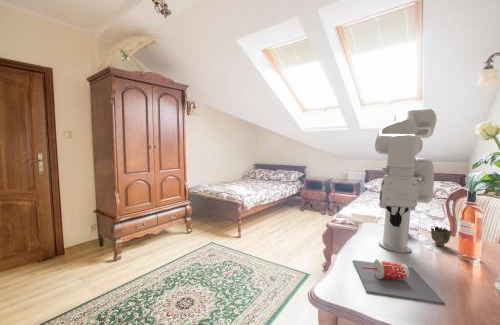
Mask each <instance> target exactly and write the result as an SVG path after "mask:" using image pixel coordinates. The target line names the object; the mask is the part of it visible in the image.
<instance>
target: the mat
mask: <svg viewBox="0 0 500 325" xmlns="http://www.w3.org/2000/svg"><path fill="white" fill-rule="evenodd" d="M352 263H353V265H354V267H355V269H356V272H357V274H358V276H359V278H360V281H361V283H362V285H363V287H364V290H365V291H366V293H367V294H372V295H373V294H374V295H380V296H383V297H384V296H385V297H392V298H399V299H405V300H411V301H417V302H424V303H431V304H437V305H443V306H445V302H444V300H443V299H442V298H441V297H440V296H439V295H438V294H437V292H436V291H435V290H434V289H432V287H431V286H430V285H429V283H427V282H426V281H425V280H424V278H423V277H422V276H421V275H420V274H419V273H418V272H417V270H415V269H414V268H413V267H410V266H407V267H408V269H409V278H408V279H387V278H383V279H378V278H377V277H376V275H375V272H374V269H363V268H362V267H369V268H374V262H370V261H363V260H357V259H356V260H355V259H353V260H352Z"/></svg>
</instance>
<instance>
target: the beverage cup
mask: <svg viewBox="0 0 500 325" xmlns="http://www.w3.org/2000/svg"><path fill="white" fill-rule="evenodd" d="M373 263H374V268H369V267H362V268H363V269H374V272H375V275H376V277H377V278H378V279H383V278H387V279H408V278H409V269H408V267H409V266H407V265H406V264H404V263H397V262H391V261H384V260H380V259H375V260H374V262H373Z"/></svg>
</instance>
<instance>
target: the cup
mask: <svg viewBox="0 0 500 325" xmlns="http://www.w3.org/2000/svg"><path fill="white" fill-rule="evenodd" d="M434 227H435V231H434V229H433V226H432V227H430V233H431V234H430V235H431V239H432V241H434V245H435V246H437V247H440V248H444V247H445V245H446V244H448V243H449V241H450V239H451V236H452V235H451V234H452V231H451V230H450V229H449V230H448V228H446V227H444V228H443V227H439V226H434Z"/></svg>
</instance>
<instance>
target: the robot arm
mask: <svg viewBox="0 0 500 325" xmlns="http://www.w3.org/2000/svg"><path fill="white" fill-rule="evenodd" d="M436 124H437V114H436V112H435V111H434V110H433V109H432V108H412V109H411V108H409V109H403V110H400V111H398V112H397V113H396V114H395V115H394V119H393V121H391V122H390V123H389V124H388V125H385V126H383V127H382V128H380V129H379V131H378V132H377V135H376V138H375V142H374V149H375V152H377V154H379V155H385V156H386V155H387V160H386V161H387V162H386V167H382V168H381V172H382V173H385V174H384V175H383V178H382V182H381V185H380V191H379V203H378V207H379V208H381V209H384V210H385V212H384V225H383V238H381V239H380V240H378V244H379V246H381V247H382V248H383V249H385V250H388V251H391V252H396V253H402V254H405V253H406V254H407V253H410V252H412V247H411V246H410V245H409V244H408V241H409V231H410V221H411V211H415V210H416V207H417V205H418V203H422V204H428V203H431V201H433V198H434V197H433V196H434V181H435V180H434V178H435V176H434V175H435V167H434V166H435V165H434V162H433V161H432V160H431V159H429V158H426V157H416V156H417V155H418V154H419V153H420V152H422V150H423V146H424V145H423V144H424V142H423V140H422V139H428V138H429V139H430V137H432V136H433V134H434V130H435V128H436Z"/></svg>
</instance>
